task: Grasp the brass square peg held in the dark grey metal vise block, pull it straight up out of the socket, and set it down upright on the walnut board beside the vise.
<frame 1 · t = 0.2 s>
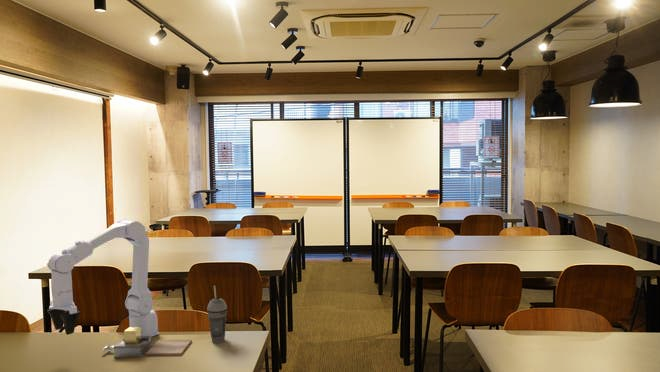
hand: (64, 331, 155), 10 cm above the table, tool pointing down, fingers open, 7 cm apart
vise: (133, 351, 162), on the table
peg: (133, 351, 162), resting in vise
board: (169, 348, 165), on the table
beverage cup: (218, 341, 171), on the table
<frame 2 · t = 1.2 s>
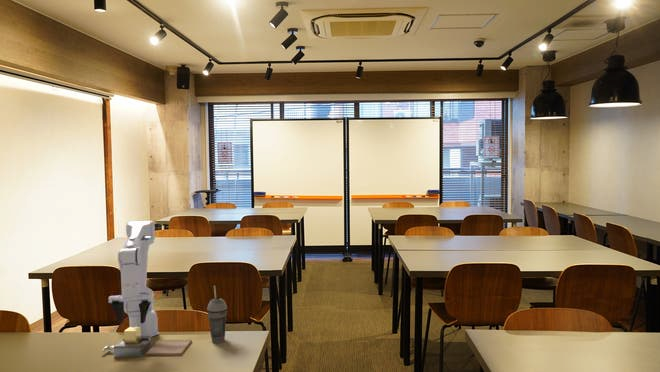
hand: (131, 322, 162), 10 cm above the table, tool pointing down, fingers open, 7 cm apart
nothing on the table moved.
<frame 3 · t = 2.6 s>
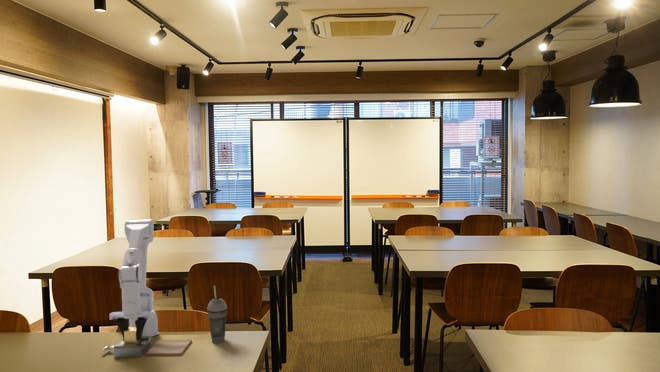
hand: (132, 339, 162), 4 cm above the table, tool pointing down, fingers closed on peg, 4 cm apart
peg: (133, 351, 162), resting in vise, touching gripper
everything else where it was.
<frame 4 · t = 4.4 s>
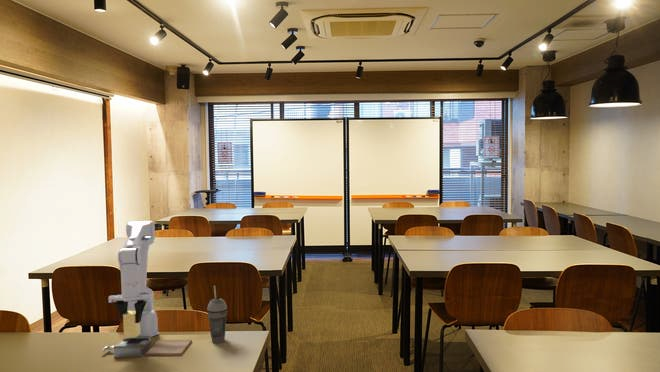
hand: (131, 322, 162), 10 cm above the table, tool pointing down, fingers closed on peg, 4 cm apart
peg: (132, 335, 162), point 6 cm above the table, touching gripper
everything else where it was.
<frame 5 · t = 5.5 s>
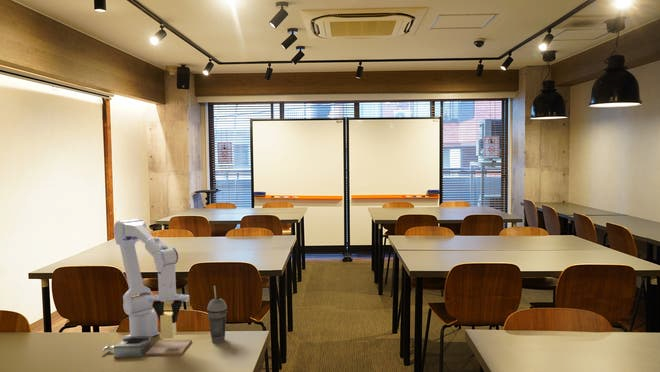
hand: (168, 322, 164), 9 cm above the table, tool pointing down, fingers closed on peg, 4 cm apart
peg: (168, 336, 164), point 4 cm above the table, touching gripper
everything else where it was.
when the fingers open (7 cm above the table, at t = 6.4 s): peg drops 1 cm, resting on board.
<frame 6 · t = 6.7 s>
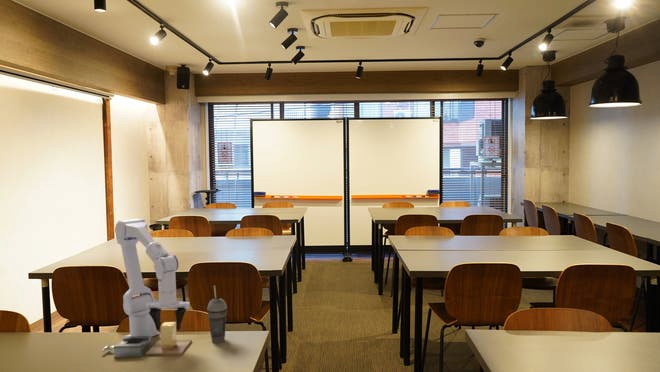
hand: (168, 329, 164), 7 cm above the table, tool pointing down, fingers open, 6 cm apart
peg: (169, 346, 164), point 1 cm above the table, touching board
everything else where it was.
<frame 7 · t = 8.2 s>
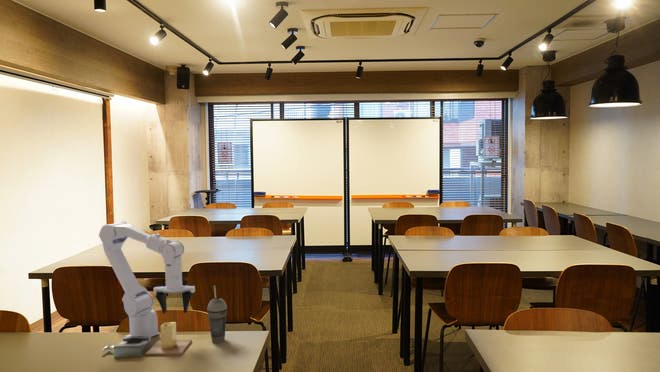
hand: (175, 312, 172), 10 cm above the table, tool pointing down, fingers open, 7 cm apart
nothing on the table moved.
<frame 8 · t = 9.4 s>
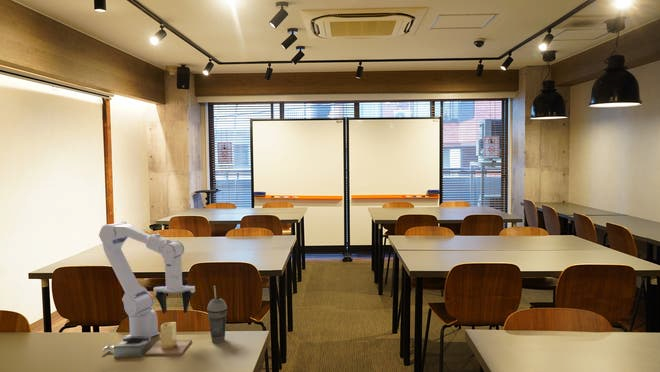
hand: (175, 312, 172), 10 cm above the table, tool pointing down, fingers open, 7 cm apart
nothing on the table moved.
at the end: peg inside the target area on the board (0.2 cm from its centre), point 0.8 cm above the board's base; peg tilted 0°; the gripper is holding nothing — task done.
